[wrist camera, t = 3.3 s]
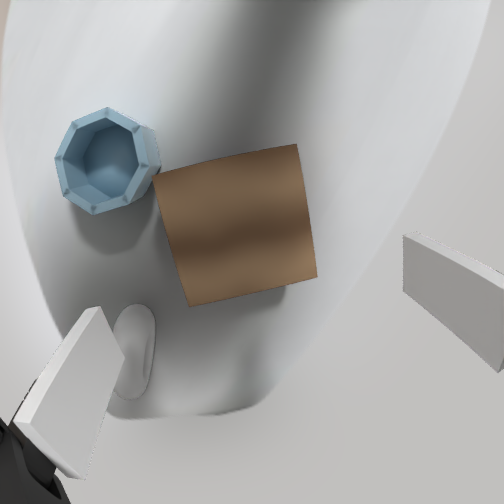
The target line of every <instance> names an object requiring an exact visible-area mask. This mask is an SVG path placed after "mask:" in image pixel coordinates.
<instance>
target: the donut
mask: <svg viewBox="0 0 504 504" xmlns="http://www.w3.org/2000/svg"><path fill="white" fill-rule="evenodd" d="M112 333H113V335H114V337H115V339H116V341H117V343H118V345H119V347H120V349H121V351H122V353H123V355H124V357H125V359H124V362H123V365H122V367H121V370H120V373H119V375H118V378H117V381H116V384H115V386H114V389H113V390H114V391H115V393H116V394H117V395H118V396H119V397H121V398H123V399H128V400H131V399H136V398H138V397H140V396H141V395H142V394H143V393H144V391H145V389H146V387H147V384H148V380H149V376H150V372H151V366H152V360H153V354H154V345H155V319H154V316H153V313H152V312H151V310H150V309H149V308H148V307H146V306H144V305H142V304H132V305H129V306H127V307H126V308H124V310H123V311H122V312H121V313H120V315H119V316H118V318H117V321H116V323H115V325H114V328H113V332H112Z"/></svg>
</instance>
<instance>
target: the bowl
mask: <svg viewBox="0 0 504 504" xmlns="http://www.w3.org/2000/svg"><path fill="white" fill-rule="evenodd" d="M54 159H55V164H56V168H57V173H58V177H59V182H60V186H61V190H62V194H63V197H65V198H67V199H68V200H70V201H71V202H73V203H74V204H76V205H77V206H79V207H80V208H82V209H84V210H85V211H87V212H88V213H90V214H91V215H96V214H99V213H102V212H105V211H108V210H112V209H115V208H118V207H121V206H125V205H128V204H131V203H132V202H134V201H136V200H138V199H139V198H141V197H143V196H144V194H145V193H146V191H147V189H148V187H149V185H150V184H151V182H152V176H153V175H156V173H157V171H158V170H159V168H160V166H161V162H160V157H159V153H158V148H157V144H156V139H155V134H154V130H152V129H150V128H148V127H147V126H145V125H143V124H141V123H140V122H138V121H136V120H134V119H132V118H131V117H129V116H127V115H125V114H123V113H120V112H118V111H116V110H113V109H111V108H109V107H107V108H104V109H101V110H99V111H96V112H94V113H91V114H89V115H87V116H84V117H82V118H80V119H77V120H75V121H73V122H72V123H71V125H70V127H69V129H68V131H67V133H66V135H65V137H64V139H63V141H62V143H61V145H60V147H59V149H58V151H57V154H56V156H55V158H54Z"/></svg>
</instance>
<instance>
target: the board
mask: <svg viewBox="0 0 504 504" xmlns="http://www.w3.org/2000/svg"><path fill="white" fill-rule="evenodd" d="M152 180H153V184H154V189H155V193H156V196H157V200H158V204H159V208H160V212H161V216H162V219H163V223H164V227H165V230H166V234H167V237H168V241H169V244H170V248H171V251H172V254H173V258H174V261H175V264H176V268H177V271H178V274H179V277H180V281H181V284H182V287H183V290H184V293H185V296H186V299H187V302H188V305H189V307H192V306H197V305H202V304H206V303H211V302H215V301H220V300H225V299H229V298H233V297H238V296H242V295H247V294H251V293H255V292H259V291H264V290H268V289H272V288H276V287H280V286H284V285H289V284H293V283H297V282H301V281H305V280H309V279H312V278H316V277H317V269H316V261H315V253H314V246H313V239H312V232H311V225H310V218H309V212H308V205H307V199H306V193H305V187H304V181H303V176H302V170H301V164H300V159H299V154H298V148H297V144H292V145H286V146H280V147H274V148H269V149H263V150H258V151H253V152H248V153H243V154H238V155H233V156H229V157H224V158H220V159H215V160H211V161H207V162H202V163H198V164H194V165H190V166H186V167H182V168H178V169H175V170H171V171H167V172H163V173H160V174H156V175H153V176H152Z"/></svg>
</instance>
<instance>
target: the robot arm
mask: <svg viewBox="0 0 504 504" xmlns="http://www.w3.org/2000/svg"><path fill="white" fill-rule="evenodd" d="M403 257H404V258H403V292H405V293H406V294H407V295H408V296H410V297H411V298H412V299H413V300H415V301H416V302H417V303H418V304H420V305H421V306H422V307H423V308H424V309H426V310H427V311H428V312H429V313H430V314H432V315H433V316H434V317H435V318H437V319H438V320H439V321H440V322H441V323H442V324H444V325H445V326H446V327H447V328H448V329H449V330H450V331H452V332H453V333H454V334H455V335H456V336H457V337H459V338H460V339H461V340H462V341H463V342H464V343H465V344H467V345H468V346H469V347H470V348H471V349H472V350H473V351H474V352H475V353H477V354H478V355H479V356H480V357H481V358H482V359H483V360H484V361H485V362H486V363H487V364H489V365H490V366H491V367H492V368H493V369H494V370H495V371H496V372H497V373H498V372H500V371H501V370H503V369H504V275H503V274H502V273H500V272H498V271H496V270H494V269H492V268H490V267H488V266H486V265H484V264H482V263H480V262H478V261H476V260H475V259H473V258H471V257H468V256H467V255H464V254H462V253H461V252H459V251H457V250H454V249H452V248H450V247H448V246H446V245H444V244H442V243H440V242H437V241H436V240H433V239H431V238H429V237H427V236H425V235H422V234H420V233H418V232H413V233H409V234H405V235H403ZM124 359H125V357H124V355H123V353H122V351H121V349H120V347H119V345H118V343H117V341H116V339H115V337H114V335H113V333H112V331H111V328H110V326H109V324H108V322H107V320H106V317H105V315H104V313H103V311H102V308H101V306H97V307H92V308H87V309H85V311H84V312H83V313H82V315H81V316H80V318H79V319H78V320H77V322H76V323H75V324H74V326H73V327H72V329H71V330H70V331H69V333H68V334H67V336H66V337H65V338H64V340H63V341H62V343H61V344H60V346H59V347H58V349H57V350H56V351H55V353H54V354H53V356H52V357H51V359H50V360H49V362H48V363H47V365H46V367H45V368H44V370H43V371H42V373H41V374H40V376H39V377H38V378H37V379H36V380H35V381H34V383H33V384H32V386H31V388H30V389H29V393H27V394H26V396H25V397H24V400H23V401H22V403H21V404H20V406H19V408H18V410H17V411H16V413H15V415H14V416H13V418H12V420H11V422H10V424H9V425H8V426H7V425H6V424H5V423H4V422H3V420H2V419H1V418H0V504H71V503H70V501H69V499H68V497H67V495H66V493H65V490H64V488H63V486H62V484H61V481H60V480H59V478H58V477H57V476H56V475H55V474H54V473H55V470H56V467H57V468H58V469H59V470H60V471H61V472H62V473H63V474H64V475H65V476H67V477H69V478H75V479H82V480H85V479H86V476H87V472H88V468H89V465H90V461H91V458H92V454H93V451H94V447H95V444H96V441H97V437H98V434H99V431H100V428H101V425H102V422H103V419H104V415H105V412H106V409H107V406H108V404H109V401H110V398H111V395H112V392H113V389H114V386H115V384H116V381H117V378H118V375H119V373H120V370H121V367H122V365H123V362H124Z"/></svg>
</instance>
